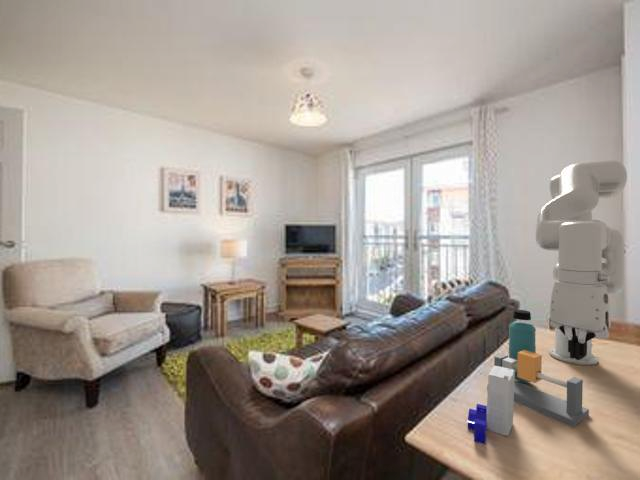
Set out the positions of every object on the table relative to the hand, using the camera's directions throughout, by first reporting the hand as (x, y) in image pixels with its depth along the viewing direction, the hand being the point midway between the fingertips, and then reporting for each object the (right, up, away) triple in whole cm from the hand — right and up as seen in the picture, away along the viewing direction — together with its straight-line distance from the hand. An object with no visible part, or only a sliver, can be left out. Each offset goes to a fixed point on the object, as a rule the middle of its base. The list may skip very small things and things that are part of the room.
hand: (577, 357), depth 74 cm
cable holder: (-25, -14, -5) cm, 29 cm away
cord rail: (-6, -13, +6) cm, 16 cm away
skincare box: (-19, -14, -4) cm, 24 cm away
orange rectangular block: (-6, -8, +7) cm, 12 cm away
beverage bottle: (-2, -13, +16) cm, 21 cm away
